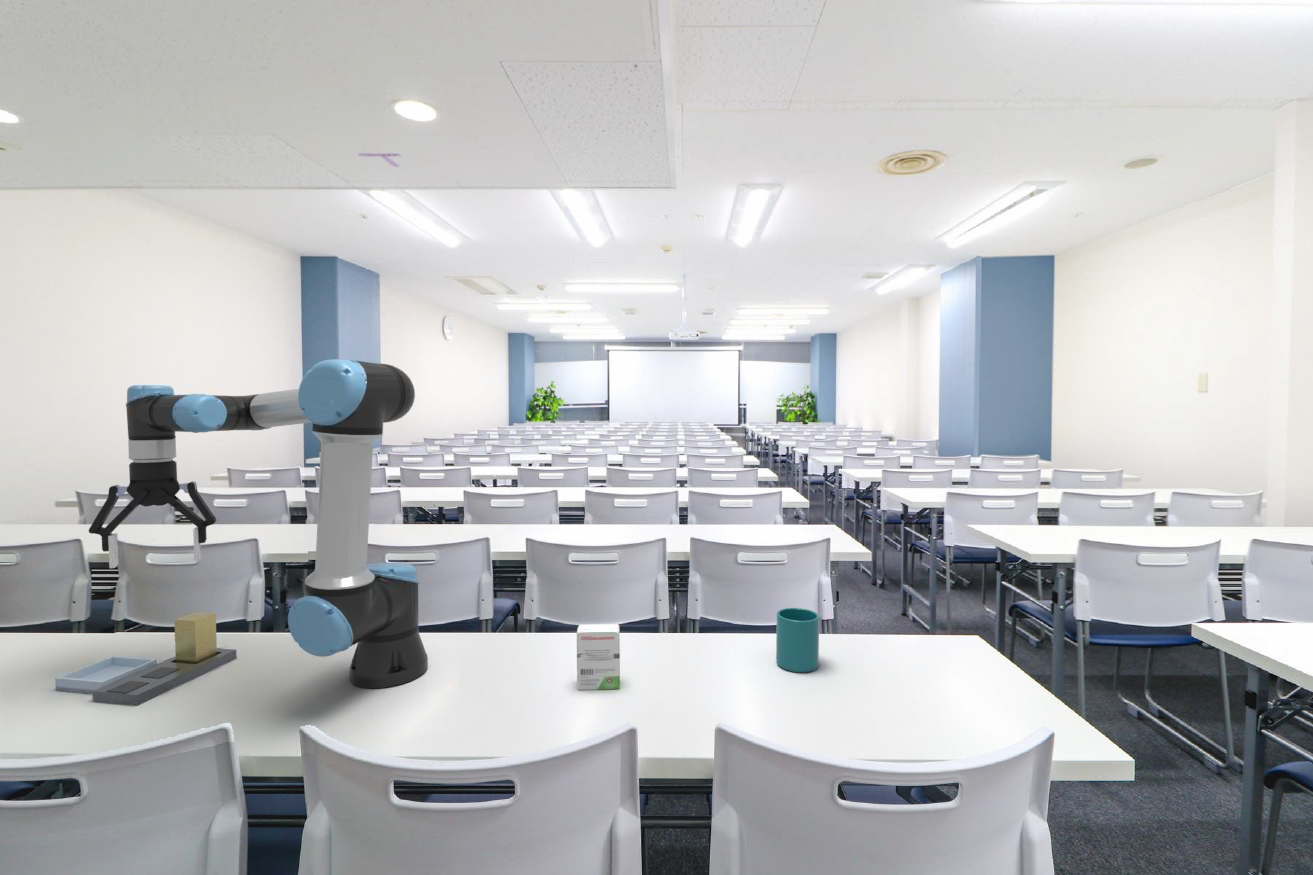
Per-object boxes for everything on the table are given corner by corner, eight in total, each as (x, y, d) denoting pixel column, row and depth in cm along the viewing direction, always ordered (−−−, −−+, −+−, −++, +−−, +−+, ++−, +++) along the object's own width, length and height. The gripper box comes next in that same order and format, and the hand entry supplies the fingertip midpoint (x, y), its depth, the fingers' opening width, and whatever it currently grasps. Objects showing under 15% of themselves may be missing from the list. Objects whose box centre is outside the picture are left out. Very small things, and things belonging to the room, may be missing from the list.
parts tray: (157, 670, 129) (157, 659, 129) (102, 694, 118) (101, 682, 118) (113, 667, 130) (113, 655, 130) (55, 690, 120) (55, 678, 119)
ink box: (620, 678, 125) (620, 622, 125) (619, 689, 121) (619, 631, 120) (578, 679, 125) (578, 623, 125) (576, 690, 120) (576, 632, 120)
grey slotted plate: (236, 658, 135) (236, 649, 135) (137, 705, 114) (137, 694, 113) (197, 655, 137) (197, 646, 137) (92, 701, 115) (92, 690, 115)
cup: (806, 650, 140) (806, 602, 140) (824, 673, 128) (825, 620, 128) (767, 651, 140) (768, 603, 139) (782, 674, 128) (783, 622, 127)
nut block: (217, 662, 133) (215, 613, 133) (196, 671, 128) (194, 620, 128) (197, 660, 134) (195, 611, 134) (176, 670, 129) (174, 619, 129)
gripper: (229, 457, 134) (232, 552, 135) (78, 461, 122) (83, 566, 123) (224, 459, 127) (227, 559, 128) (64, 464, 115) (69, 574, 116)
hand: (156, 562), depth 125 cm, fingers open, 13 cm apart
